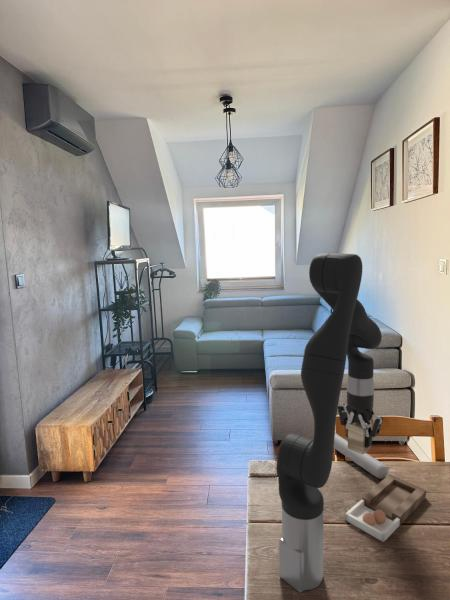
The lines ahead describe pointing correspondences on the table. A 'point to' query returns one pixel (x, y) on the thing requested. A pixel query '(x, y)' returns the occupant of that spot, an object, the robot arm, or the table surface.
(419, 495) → the slot board
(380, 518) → the ball
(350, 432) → the block
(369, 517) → the ball
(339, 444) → the tube
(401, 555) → the table surface
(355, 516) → the tray
